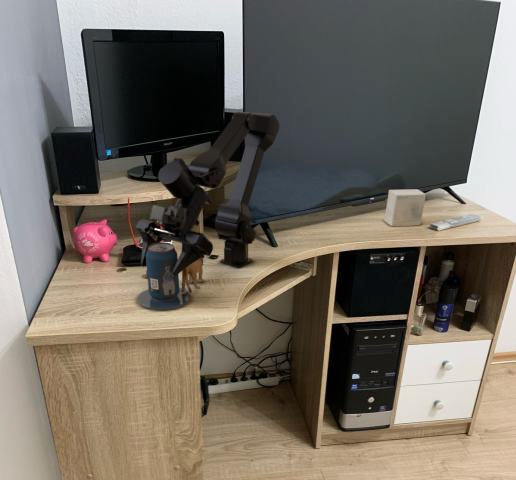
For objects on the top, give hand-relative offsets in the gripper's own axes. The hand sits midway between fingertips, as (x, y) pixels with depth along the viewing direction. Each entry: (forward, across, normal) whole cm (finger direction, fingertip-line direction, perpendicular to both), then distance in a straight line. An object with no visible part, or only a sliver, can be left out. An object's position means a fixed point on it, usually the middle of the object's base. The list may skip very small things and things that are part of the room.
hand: (157, 270), depth 120 cm
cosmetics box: (-60, +24, +71) cm, 96 cm away
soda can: (+4, 0, +6) cm, 7 cm away
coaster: (+4, 0, +6) cm, 8 cm away
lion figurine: (-2, 0, +13) cm, 13 cm away
